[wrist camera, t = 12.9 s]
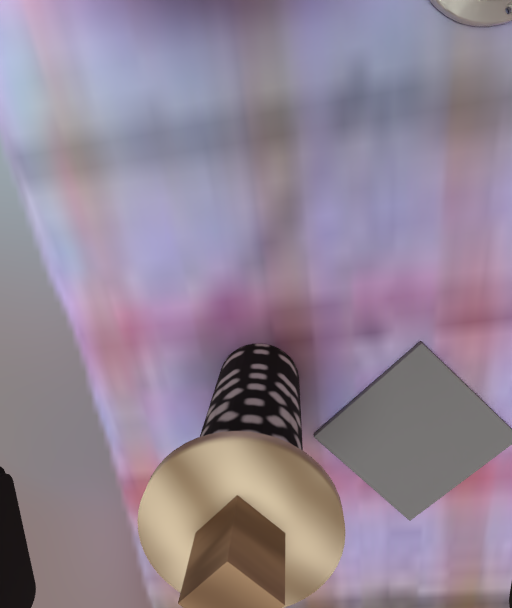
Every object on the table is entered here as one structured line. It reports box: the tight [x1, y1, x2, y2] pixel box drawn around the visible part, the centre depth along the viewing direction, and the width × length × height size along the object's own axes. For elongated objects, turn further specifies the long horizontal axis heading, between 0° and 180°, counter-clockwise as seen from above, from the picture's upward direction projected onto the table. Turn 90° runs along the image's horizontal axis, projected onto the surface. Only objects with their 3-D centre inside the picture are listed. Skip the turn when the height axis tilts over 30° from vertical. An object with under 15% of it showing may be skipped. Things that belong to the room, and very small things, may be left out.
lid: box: [138, 431, 345, 608], centre depth 28 cm, size 13×13×6 cm
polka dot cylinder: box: [200, 344, 303, 451], centre depth 40 cm, size 8×8×20 cm
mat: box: [314, 341, 512, 521], centre depth 50 cm, size 15×15×1 cm
